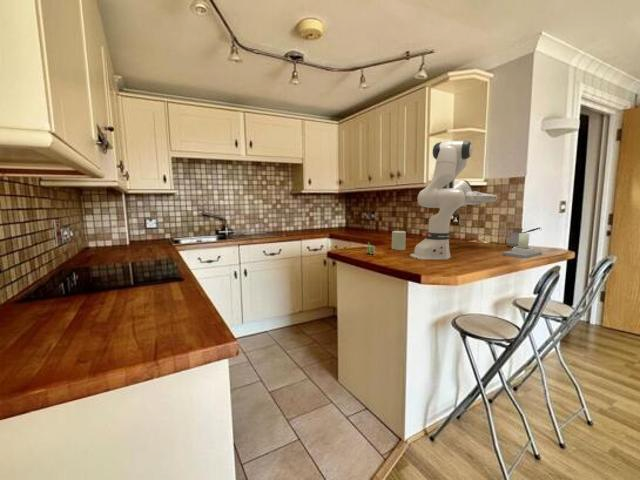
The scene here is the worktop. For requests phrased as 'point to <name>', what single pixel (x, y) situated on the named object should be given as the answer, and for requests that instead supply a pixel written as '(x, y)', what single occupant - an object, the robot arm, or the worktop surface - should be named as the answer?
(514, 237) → the coffee pot
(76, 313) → the worktop surface
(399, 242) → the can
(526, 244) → the post
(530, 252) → the base board
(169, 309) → the worktop surface
